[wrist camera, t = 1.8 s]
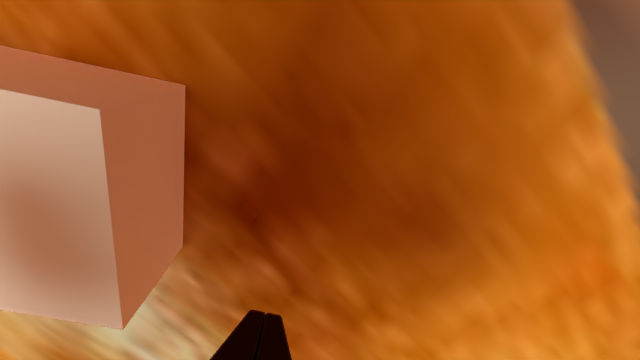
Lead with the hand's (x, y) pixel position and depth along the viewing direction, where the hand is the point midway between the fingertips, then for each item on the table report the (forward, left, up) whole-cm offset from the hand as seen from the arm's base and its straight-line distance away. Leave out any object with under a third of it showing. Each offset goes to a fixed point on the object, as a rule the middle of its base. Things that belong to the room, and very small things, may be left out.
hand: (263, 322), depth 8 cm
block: (0, +9, -7) cm, 12 cm away
